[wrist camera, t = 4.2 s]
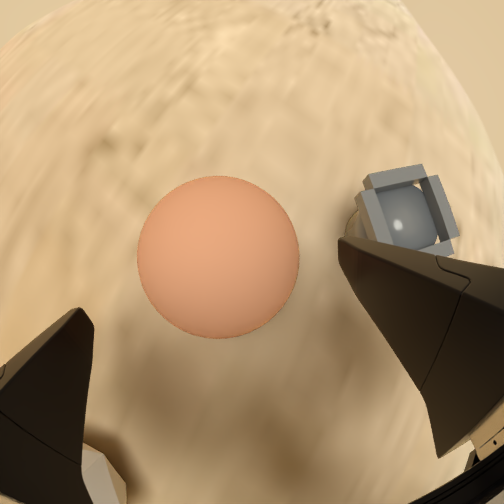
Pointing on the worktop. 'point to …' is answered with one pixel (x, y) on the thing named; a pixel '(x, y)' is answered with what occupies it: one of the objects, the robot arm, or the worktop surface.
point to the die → (102, 478)
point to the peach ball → (218, 257)
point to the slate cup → (404, 211)
